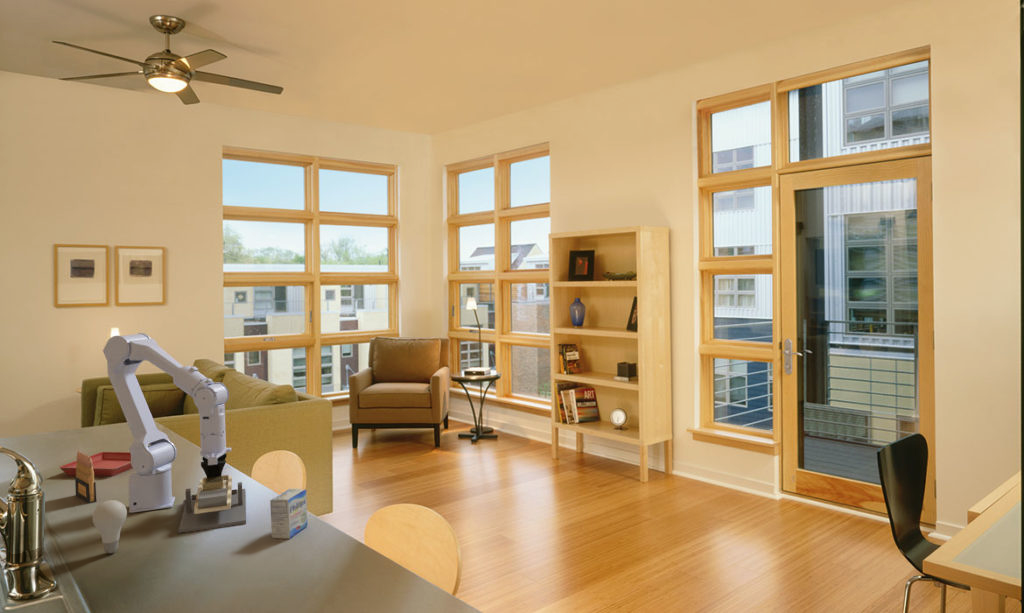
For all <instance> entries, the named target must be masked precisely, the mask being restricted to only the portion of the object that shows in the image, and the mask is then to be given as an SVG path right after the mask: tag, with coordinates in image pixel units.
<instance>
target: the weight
mask: <svg viewBox="0 0 1024 613" xmlns="http://www.w3.org/2000/svg"><path fill="white" fill-rule="evenodd" d="M202 487H203V491H205V490H213V489H220V488H224V485H223V476H222V475H221V476H217V477H208V478H205V477H203V484H202Z"/></svg>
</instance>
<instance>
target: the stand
mask: <svg viewBox="0 0 1024 613" xmlns="http://www.w3.org/2000/svg"><path fill="white" fill-rule="evenodd" d="M191 489H192V488H185V504H184V508H183V513H182V515H181V520H180V523H179V527H178V534H182V533H181V532H186V533H190V532H189V531H193V532H197V531H196V530H200V531H205V530H204V529H207V530H213V529H219V528H218V527H220V528H226V527H225V526H227V527H233V526H232V525H234V526H240V525H246V524H247V502H246V500H247V499H246V496H247V495H246V492H247V491H246V488H243V482H242V481H239V482H237V494H235V495H232V493H231V509H227V510H219V511H212V512H205V513H198V514H194V506H195V501H196V500H192V494H191V492H192V491H191ZM212 528H213V529H212Z"/></svg>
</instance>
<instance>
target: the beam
mask: <svg viewBox="0 0 1024 613" xmlns="http://www.w3.org/2000/svg"><path fill="white" fill-rule="evenodd" d="M221 476H223V485H224V488H220V489H213V490H205V491H203V487H202V484H203V479H199V483H198V487H197V493H196V494H191V496H192V500H196V501H195V506H194V514H198V513H205V512H212V511H219V510H227V509H231V493H232V495H235V494H237V490H238V488H237V489H233V475H229V474H224V475H223V474H222V475H221ZM204 478H207V477H206V476H205V477H204Z"/></svg>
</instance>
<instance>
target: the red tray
mask: <svg viewBox="0 0 1024 613" xmlns="http://www.w3.org/2000/svg"><path fill="white" fill-rule="evenodd" d="M90 457H91V459H92V464H93V471H94V477H115V476H117V475H119V474H121V473H125V472H127V471H129V470H131V468H132V469H133V467H132V465H131V453H130V451H129V452H124V451H101V452H98V453H95V454H92V455H90ZM76 464H77V460H75V461H72V462H69V463H66V464H63V465H61V466H59V469H60V470H61V471H62V472H64V473H66V474H67V475H68V476H74V477H76Z"/></svg>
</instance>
